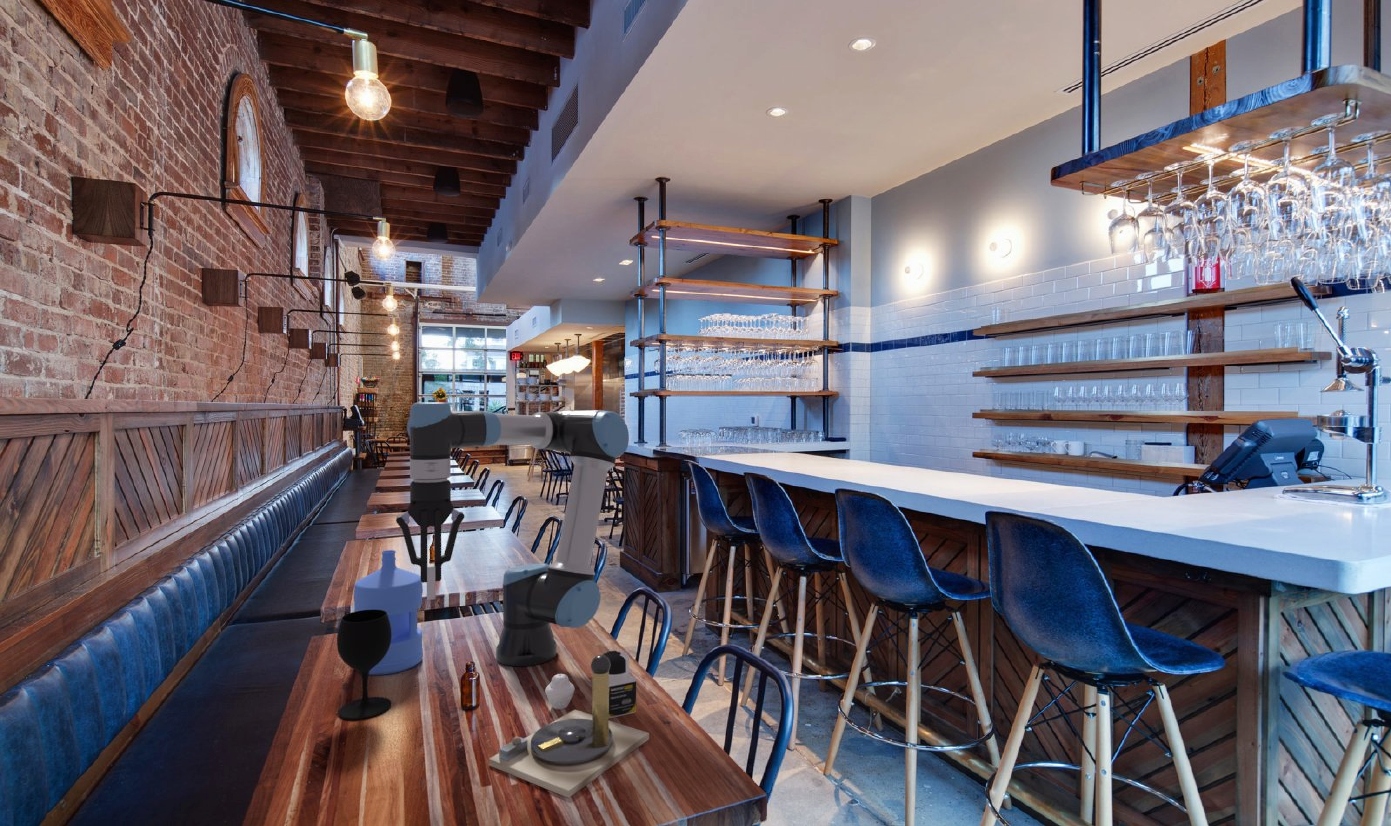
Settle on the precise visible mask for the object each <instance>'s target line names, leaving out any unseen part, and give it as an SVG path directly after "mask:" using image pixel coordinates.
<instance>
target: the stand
mask: <svg viewBox="0 0 1391 826" xmlns="http://www.w3.org/2000/svg"><path fill="white" fill-rule="evenodd" d="M567 719H589V720H592V714H590V713H587V712H584V711H580V710H578V709H576V708H575V709H573V710H572V711H569V712H567V713H566V714H564V715H563V716H561V717H559V718H557V719H556V720H553V721H552V722H550V723H549V724H551V723H554V722H557V721H561V720H567ZM609 728H610V730H611V732H612V746H611V748H610V749H609V750H608V751H607V752H606V753H605V754H604V755H602V756H601V757H599V758H597V759H595V760H593V761H590V762H587V763H582V764H577V765H553V764H548V763H545V762H543V761H540V760H539V759H537V758H536V757H535V756H534V755H533V754H532V752H531V739H532V737H533V735H534V734H535V733H536V732H537V731H538V730H536V731H535V732H533V733H531V734H530V735H528V736H526V737H524V738H523V737H521V736H515V737H513V738H512V740H511V741H510V742H509V743H507V744H505V745H503V746H502V747H501V746H500V748H499V749H498V753H496V754H495V755H493V756H491V757H489V758H488V765H489V766H490V767H492V768H494V769H496V770H500V771H502V772H504V773H506V774H510V775H512V776H514V777H515V778H516V777H517V778H519V779H520V780H521V779H522V780H523V781H526V782H529V783H531V784H533V785H536V786H538V787H541V788H543V789H545V790H549V791H550V792H553V793H556V794H559V795H561V796H562V797H565V798H568V799H570V798H571V797H572V796H573V795H575V794H576V793H578V792H579V791H580V790H581V789H583V788H584V787H586V786H587V785H589V784H590V783H591V782H593V781H594V780H595V779H597V778H598V777H600V776H601V775H602V774H604V773H605V772H606V771H608V770H609V769H610V768H612V767H613V766H615V765H616V764H617V763H619V762H620V761H621V760H622V759H624V758H625V757H627V756H628V755H629V754H631V753H632V752H633V751H635V750H637V749H638V748H639V747H640V746H642V745H643V744H644V743H646V742H647V741H648V740H649V739H650V732H647V731H644V730H640V729H637V728H634V727H631V726H627V725H625V724H622V723H618V722H615V721H612V720H609Z"/></svg>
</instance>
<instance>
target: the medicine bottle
mask: <svg viewBox="0 0 1391 826" xmlns="http://www.w3.org/2000/svg"><path fill="white" fill-rule="evenodd" d="M602 655H604V656H606V657H607V658H608V659H609V660H610V664H611V666H610V670H609V719H613V718H617V717H621V716H626V715H632V714H635V713H636V712H637V679H636V678H635V677H634V676H632V674H631V673H630V655H629V654H628V653H627V652H626V651H622V650H610V651H607V652H605V653H603V654H602Z"/></svg>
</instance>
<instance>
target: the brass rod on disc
mask: <svg viewBox="0 0 1391 826" xmlns="http://www.w3.org/2000/svg"><path fill="white" fill-rule="evenodd" d="M610 666H611V664H610V660H609V659H608V658H607V657H606V656H604V655H603V654H599V655H596V656H595V657H593V659H592V661H591V662H590V668H591V672H592V683H591V684H592V689H591V690H592V691H591V692H592V706H591V707H592V712H591V713H592V714H591V715H592V720H589V719H567V720H561V721H557V722H554V721H553V722H554V723H552V722H550V723H551V724H550V723H549V724H547V725H544V726H542V727H541V728H539V729H538V730H536V731H537V732H536V731H535V732H536V733H535V732H534V733H535V734H534V735H533V737H532V739H531V752H532V754H533V755H534V756H535V757H536V758H537V759H539V760H540V761H543V762H545V763H548V764H553V765H577V764H582V763H587V762H590V761H593V760H595V759H597V758H599V757H601V756H602V755H604V754H605V753H606V752H607V751H608V750H609V749H610V748H611V746H612V732H611V730H610V728H609V721H610V720H609V719H610V718H609V670H610Z"/></svg>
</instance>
